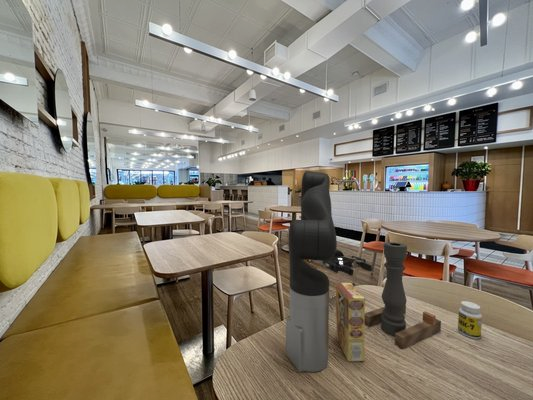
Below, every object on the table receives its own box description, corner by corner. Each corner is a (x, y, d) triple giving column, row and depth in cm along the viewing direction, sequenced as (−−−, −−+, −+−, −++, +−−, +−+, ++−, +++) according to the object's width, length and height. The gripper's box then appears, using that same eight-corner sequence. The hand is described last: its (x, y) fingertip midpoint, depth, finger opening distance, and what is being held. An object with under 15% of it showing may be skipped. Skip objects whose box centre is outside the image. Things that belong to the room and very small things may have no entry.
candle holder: (398, 324, 66) (401, 242, 65) (410, 338, 60) (413, 247, 58) (377, 323, 66) (379, 241, 65) (386, 336, 60) (388, 246, 59)
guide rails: (403, 350, 55) (404, 329, 55) (362, 322, 67) (362, 305, 66) (441, 331, 62) (442, 312, 62) (398, 309, 74) (399, 293, 74)
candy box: (365, 362, 51) (366, 298, 51) (347, 362, 51) (348, 298, 51) (350, 336, 60) (351, 282, 60) (334, 337, 60) (335, 282, 59)
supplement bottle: (454, 331, 63) (455, 302, 62) (463, 326, 65) (464, 298, 64) (475, 341, 58) (477, 310, 58) (484, 336, 60) (485, 306, 60)
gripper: (314, 249, 84) (346, 262, 69) (342, 245, 90) (377, 256, 75) (314, 268, 84) (345, 285, 70) (342, 263, 90) (377, 277, 76)
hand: (362, 270), depth 72 cm, fingers open, 8 cm apart
